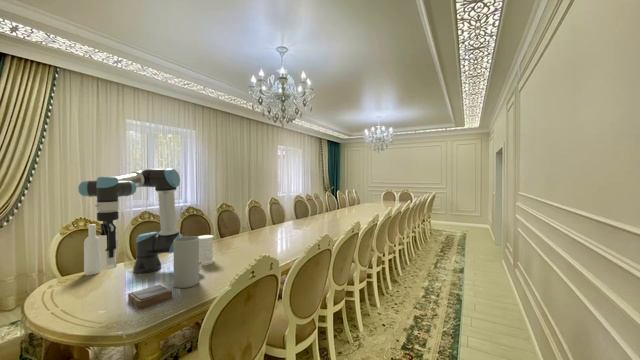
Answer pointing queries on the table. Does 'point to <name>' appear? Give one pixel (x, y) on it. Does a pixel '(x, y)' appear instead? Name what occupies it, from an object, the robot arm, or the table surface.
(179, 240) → the cylinder vase
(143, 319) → the table surface
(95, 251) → the bottle
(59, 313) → the table surface
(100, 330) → the table surface
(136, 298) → the walnut stand
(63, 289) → the table surface
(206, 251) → the decorative container
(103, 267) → the beer glass
